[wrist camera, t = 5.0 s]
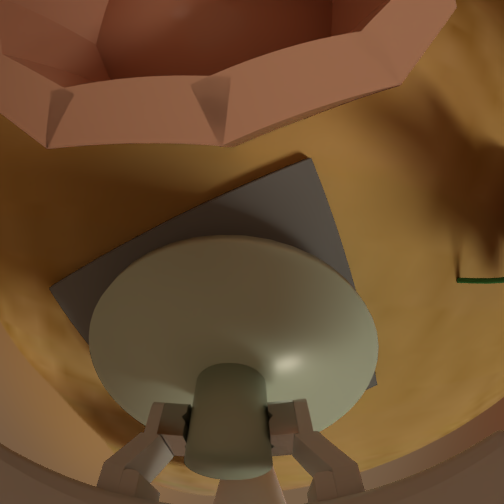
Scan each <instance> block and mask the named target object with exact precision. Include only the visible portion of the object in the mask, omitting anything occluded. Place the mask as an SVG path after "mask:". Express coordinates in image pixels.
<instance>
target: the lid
mask: <svg viewBox="0 0 504 504" xmlns="http://www.w3.org/2000/svg"><path fill="white" fill-rule="evenodd" d="M89 348H90V354H91V358H92V362H93V365H94V368H95V370H96V372H97V375H98V377H99V379H100V380H101V382H102V384H103V386H104V387H105V389H106V390H107V391H108V393H109V394H110V395H111V397H112V398H113V399H114V400H115V401H116V402H117V403H118V404H119V405H120V406H121V407H122V408H123V409H124V410H125V411H126V412H127V413H128V414H130V415H131V416H132V417H133V418H135V419H136V420H138V421H139V422H140V423H142V424H143V425H145V426H146V423H147V420H148V416H149V413H150V409H151V406H152V404H153V403H154V402H165V403H177V404H191V407H192V411H191V417H190V423H189V430H188V436H187V443H186V450H185V457H184V463H185V465H186V466H187V467H188V468H189V469H190V470H192V471H194V472H195V473H198V474H200V475H203V476H206V477H210V478H215V479H222V480H244V479H251V478H255V477H259V476H261V475H264V474H266V473H267V472H269V471H270V470H271V469H272V466H273V463H272V451H271V444H270V434H269V420H268V408H267V402H275V401H284V400H296V399H304V398H305V399H306V400H307V403H308V408H309V412H310V417H311V422H312V426H313V431H318V432H320V431H322V430H323V429H325V428H327V427H328V426H330V425H331V424H333V423H334V422H336V421H337V420H338V419H340V418H341V417H342V416H343V415H345V414H346V413H347V412H348V411H349V410H350V409H351V408H352V407H353V406H354V405H355V404H356V402H357V401H358V400H359V399H360V397H361V396H362V395H363V393H364V392H365V390H366V388H367V387H368V385H369V383H370V381H371V379H372V376H373V374H374V371H375V367H376V363H377V358H378V337H377V331H376V328H375V324H374V321H373V318H372V316H371V314H370V312H369V311H368V309H367V307H366V305H365V303H364V302H363V300H362V299H361V297H360V296H359V294H358V293H357V292H356V291H355V289H354V288H353V287H352V286H351V284H350V283H349V282H348V281H347V280H346V279H345V278H344V277H343V276H342V275H341V274H340V273H338V272H337V271H336V270H335V269H334V268H333V267H331V266H330V265H328V264H327V263H325V262H324V261H322V260H320V259H319V258H317V257H316V256H314V255H312V254H310V253H307V252H305V251H303V250H301V249H298V248H296V247H294V246H291V245H287V244H284V243H281V242H277V241H274V240H270V239H264V238H258V237H251V236H245V235H212V236H203V237H194V238H190V239H186V240H182V241H178V242H174V243H170V244H168V245H165V246H163V247H160V248H158V249H155V250H153V251H151V252H149V253H147V254H146V255H144V256H142V257H141V258H139V259H137V260H136V261H134V262H133V263H132V264H130V265H129V266H128V267H127V268H126V269H125V270H123V271H122V272H121V273H120V274H119V275H118V276H117V278H116V279H115V280H114V281H113V282H112V283H111V285H110V286H109V287H108V288H107V290H106V291H105V292H104V293H103V295H102V296H101V298H100V300H99V301H98V303H97V305H96V307H95V309H94V312H93V315H92V319H91V322H90V329H89Z"/></svg>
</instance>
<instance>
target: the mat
mask: <svg viewBox="0 0 504 504" xmlns="http://www.w3.org/2000/svg"><path fill="white" fill-rule="evenodd" d="M212 235H245V236H251V237H258V238H264V239H270V240H274V241H277V242H281V243H284V244H287V245H291V246H294V247H296V248H298V249H301V250H303V251H305V252H307V253H310V254H312V255H314V256H316V257H317V258H319V259H320V260H322V261H324V262H325V263H327V264H328V265H330V266H331V267H333V268H334V269H335V270H336V271H337V272H338V273H340V274H341V275H342V276H343V277H344V278H345V279H346V280H347V281H348V282H349V283H350V284H351V286H352V287H353V288H354V289H355V286H354V282H353V279H352V275H351V272H350V269H349V265H348V262H347V259H346V255H345V252H344V249H343V246H342V242H341V239H340V236H339V233H338V230H337V227H336V224H335V221H334V218H333V215H332V212H331V210H330V207H329V204H328V201H327V198H326V196H325V193H324V190H323V187H322V185H321V182H320V179H319V177H318V174H317V172H316V169H315V166H314V164H313V161H312V159H311V158H307V159H304V160H301V161H299V162H296V163H294V164H292V165H289V166H287V167H284V168H282V169H279V170H277V171H274V172H272V173H270V174H267V175H265V176H263V177H260V178H258V179H256V180H253V181H251V182H249V183H247V184H244V185H242V186H240V187H238V188H235V189H233V190H231V191H229V192H226V193H224V194H222V195H220V196H218V197H216V198H213V199H211V200H209V201H207V202H205V203H203V204H201V205H199V206H197V207H194V208H192V209H190V210H188V211H186V212H184V213H182V214H180V215H178V216H176V217H174V218H172V219H170V220H168V221H166V222H164V223H162V224H160V225H158V226H156V227H154V228H152V229H151V230H149V231H147V232H145V233H143V234H141V235H139V236H137V237H135V238H134V239H132V240H130V241H128V242H126V243H124V244H122V245H121V246H119V247H117V248H115V249H113V250H112V251H110V252H108V253H106V254H104V255H103V256H101V257H99V258H97V259H96V260H94V261H92V262H90V263H89V264H87V265H85V266H84V267H82V268H80V269H79V270H77V271H75V272H74V273H72V274H70V275H69V276H67V277H65V278H64V279H62V280H60V281H59V282H57V283H56V284H54V285H52V286H51V287H50V288H49V289H50V291H51V293H52V294H53V296H54V297H55V299H56V300H57V302H58V303H59V305H60V306H61V308H62V309H63V311H64V312H65V314H66V315H67V317H68V318H69V319H70V321H71V322H72V324H73V325H74V326H75V328H76V329H77V330H78V332H79V333H80V334H81V336H82V337H83V338H84V339H85V341H86V342H87V343H88V345H89V329H90V322H91V319H92V315H93V312H94V309H95V307H96V305H97V303H98V301H99V300H100V298H101V296H102V295H103V293H104V292H105V291H106V290H107V288H108V287H109V286H110V285H111V283H112V282H113V281H114V280H115V279H116V278H117V276H118V275H119V274H120V273H121V272H122V271H123V270H125V269H126V268H127V267H128V266H129V265H130V264H132V263H133V262H134V261H136V260H137V259H139V258H141V257H142V256H144V255H146V254H147V253H149V252H151V251H153V250H155V249H158V248H160V247H163V246H165V245H168V244H170V243H174V242H178V241H182V240H186V239H190V238H194V237H203V236H212ZM355 291H356V290H355ZM376 385H377V381H376V375H375V371H374V374H373V376H372V379H371V381H370V383H369V385H368V387H367V388H366V390H367V389H369V388H371V387H373V386H376Z"/></svg>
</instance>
